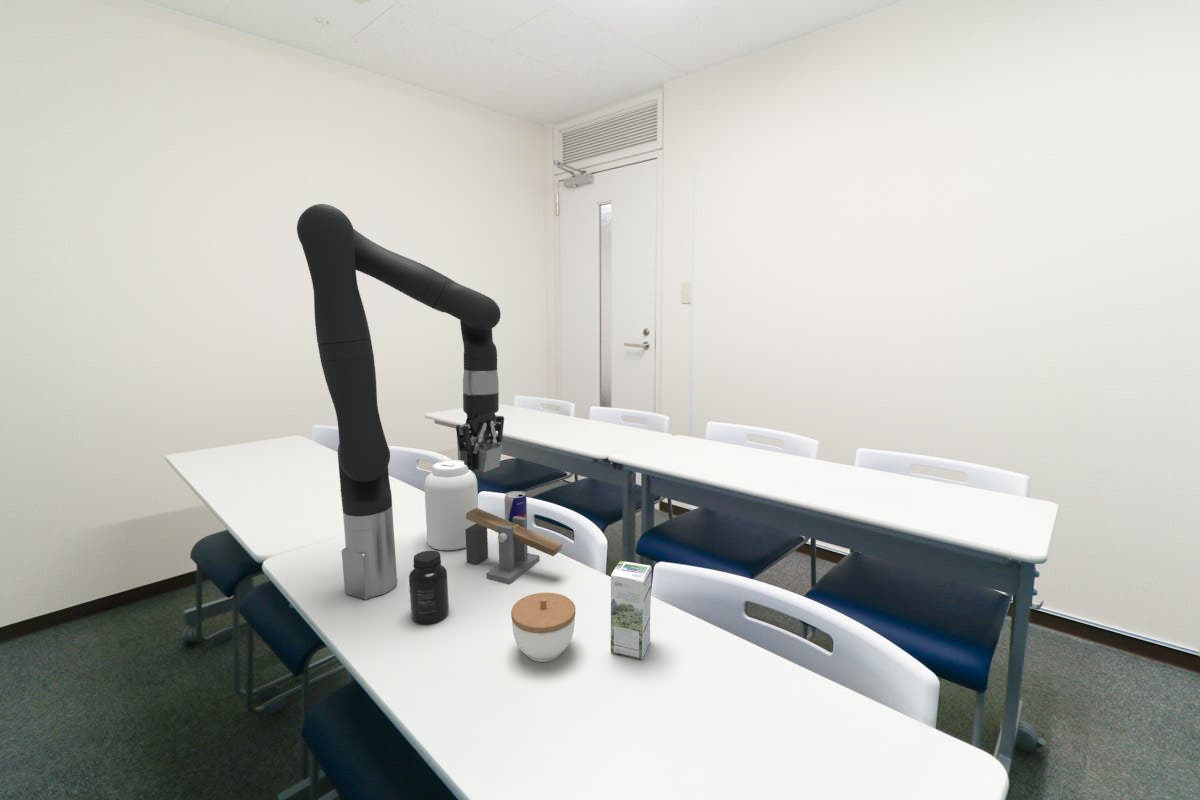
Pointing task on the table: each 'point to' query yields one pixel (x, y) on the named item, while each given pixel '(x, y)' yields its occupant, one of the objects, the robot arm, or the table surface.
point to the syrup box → (630, 609)
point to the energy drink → (515, 505)
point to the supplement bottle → (428, 588)
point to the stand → (500, 551)
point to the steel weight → (487, 455)
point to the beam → (515, 531)
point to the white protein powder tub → (449, 504)
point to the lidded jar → (543, 625)
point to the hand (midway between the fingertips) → (481, 465)
